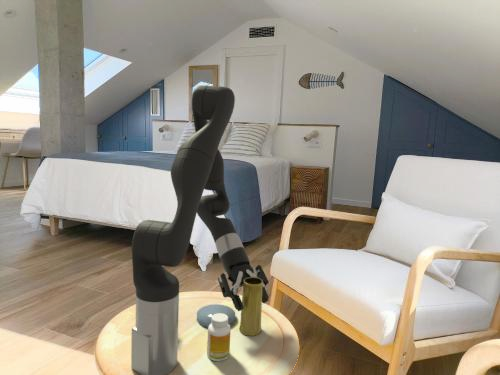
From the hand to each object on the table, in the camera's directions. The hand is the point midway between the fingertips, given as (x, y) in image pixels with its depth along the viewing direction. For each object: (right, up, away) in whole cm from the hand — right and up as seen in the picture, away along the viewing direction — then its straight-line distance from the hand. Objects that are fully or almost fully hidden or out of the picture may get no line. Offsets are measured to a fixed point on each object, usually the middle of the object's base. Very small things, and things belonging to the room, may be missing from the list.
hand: (253, 305), depth 94 cm
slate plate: (-11, -6, +7) cm, 14 cm away
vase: (-1, -7, +2) cm, 8 cm away
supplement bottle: (-9, -9, -10) cm, 16 cm away
